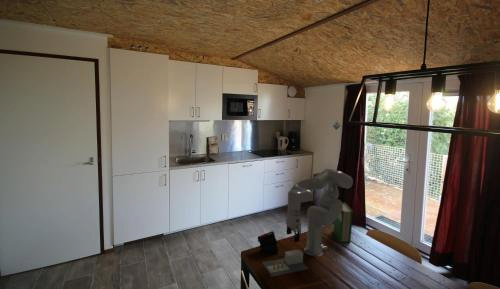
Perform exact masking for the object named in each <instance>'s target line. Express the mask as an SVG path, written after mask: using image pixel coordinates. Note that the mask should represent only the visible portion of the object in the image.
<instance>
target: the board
mask: <svg viewBox="0 0 500 289" xmlns="http://www.w3.org/2000/svg"><path fill="white" fill-rule="evenodd" d="M261 264H262V265H263V266H264V267H265V269H266V271H267V272H268V274H269V275H270V277H276V276H281V275H285V274H290V273H296V272H301V271H304V270H309V267H307V265H306V264H305V263H304V261H303V262H302V263H297V264H291V265H288V264H287V263H286V262H285V257H283V258H279V259H275V260H274V259H273V260H267V261H262V263H261Z"/></svg>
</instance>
